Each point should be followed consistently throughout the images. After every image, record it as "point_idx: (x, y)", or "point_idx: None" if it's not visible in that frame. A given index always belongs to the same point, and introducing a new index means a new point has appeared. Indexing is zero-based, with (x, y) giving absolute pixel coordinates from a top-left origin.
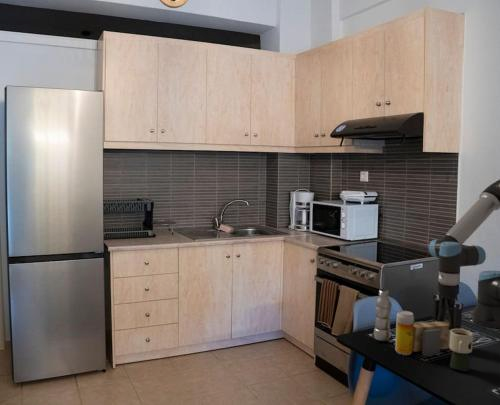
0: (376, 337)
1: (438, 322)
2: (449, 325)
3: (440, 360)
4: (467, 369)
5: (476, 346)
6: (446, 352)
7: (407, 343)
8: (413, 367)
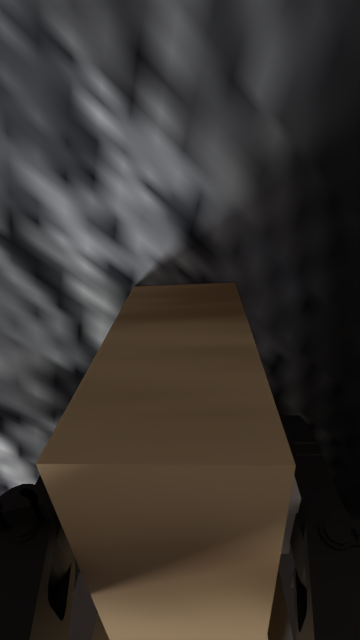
0: None
1: (135, 627)
2: (297, 616)
3: (348, 486)
4: None
5: (288, 34)
6: (278, 406)
7: None
8: None
